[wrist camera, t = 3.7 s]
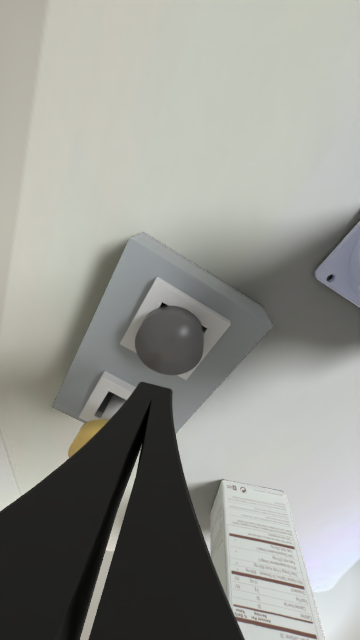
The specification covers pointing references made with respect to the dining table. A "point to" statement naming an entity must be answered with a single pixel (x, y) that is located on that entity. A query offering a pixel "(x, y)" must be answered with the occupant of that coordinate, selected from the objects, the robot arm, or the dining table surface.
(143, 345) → the knob
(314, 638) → the supplement box
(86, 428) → the knob
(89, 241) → the dining table surface
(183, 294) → the mount plate
